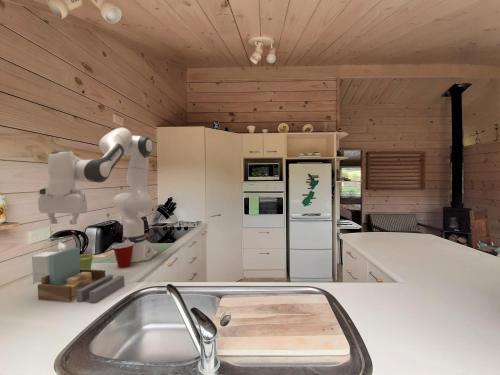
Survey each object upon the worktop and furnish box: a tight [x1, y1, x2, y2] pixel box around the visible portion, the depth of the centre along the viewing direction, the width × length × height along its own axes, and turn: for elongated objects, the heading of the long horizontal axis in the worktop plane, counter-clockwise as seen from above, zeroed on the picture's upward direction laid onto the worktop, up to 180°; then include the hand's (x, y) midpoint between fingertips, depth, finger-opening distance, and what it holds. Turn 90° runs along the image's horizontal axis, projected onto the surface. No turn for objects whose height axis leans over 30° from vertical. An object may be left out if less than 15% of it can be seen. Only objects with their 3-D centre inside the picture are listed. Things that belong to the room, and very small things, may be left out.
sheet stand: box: [75, 274, 125, 304], centre depth 103 cm, size 16×8×6 cm, turn 169°
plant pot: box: [79, 253, 95, 270], centre depth 128 cm, size 9×9×9 cm
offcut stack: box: [64, 272, 95, 297], centre depth 105 cm, size 12×5×6 cm, turn 169°
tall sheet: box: [49, 246, 80, 286], centre depth 106 cm, size 12×2×16 cm, turn 169°
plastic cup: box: [111, 242, 134, 269], centre depth 139 cm, size 11×11×12 cm
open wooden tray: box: [37, 269, 106, 303], centre depth 105 cm, size 18×14×10 cm
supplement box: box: [31, 251, 59, 285], centre depth 120 cm, size 7×7×13 cm
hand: (63, 224), depth 105 cm, fingers open, 8 cm apart
